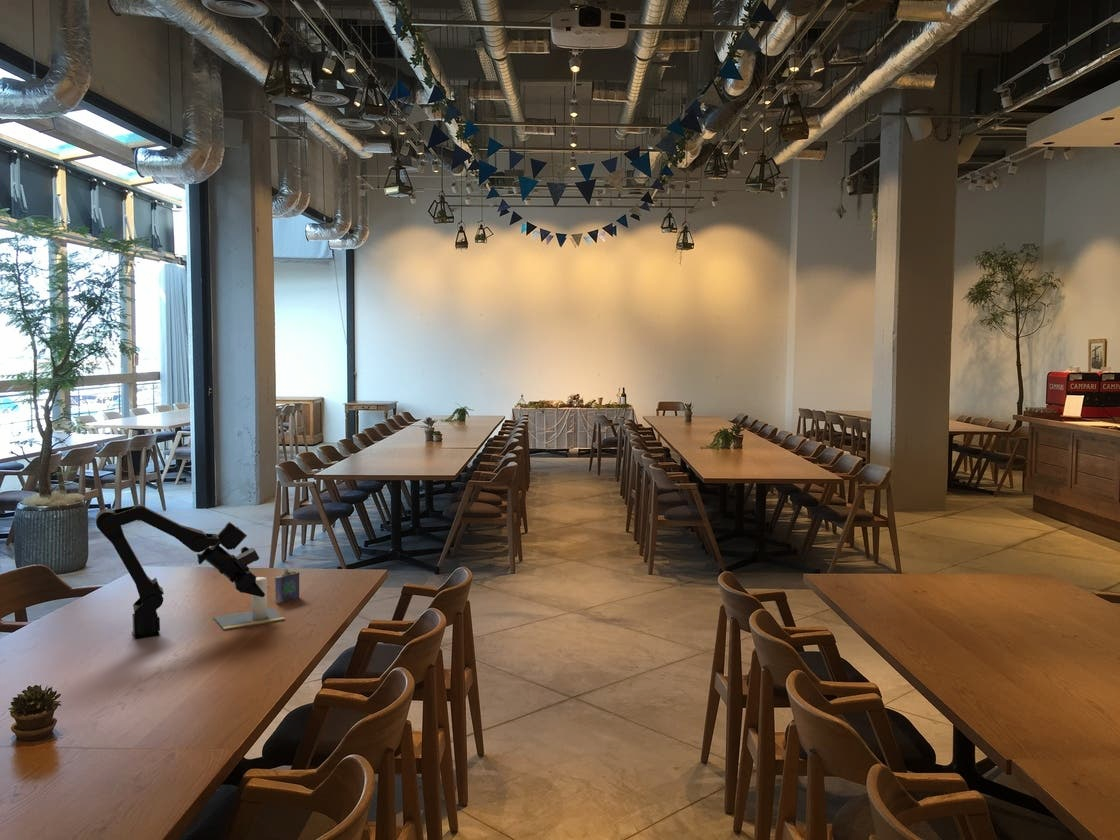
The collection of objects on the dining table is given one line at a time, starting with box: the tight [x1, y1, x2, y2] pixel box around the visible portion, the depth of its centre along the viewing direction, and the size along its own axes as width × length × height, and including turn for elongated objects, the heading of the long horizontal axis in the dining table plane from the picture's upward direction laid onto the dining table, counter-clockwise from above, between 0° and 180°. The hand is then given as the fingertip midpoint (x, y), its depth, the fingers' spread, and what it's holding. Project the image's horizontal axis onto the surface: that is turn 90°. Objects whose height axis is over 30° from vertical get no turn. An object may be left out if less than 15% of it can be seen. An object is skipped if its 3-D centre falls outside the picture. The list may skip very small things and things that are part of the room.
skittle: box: [250, 576, 268, 619], centre depth 270 cm, size 5×5×12 cm
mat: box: [213, 607, 286, 631], centre depth 269 cm, size 18×14×1 cm
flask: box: [274, 568, 300, 605], centre depth 289 cm, size 9×3×11 cm, turn 146°
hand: (261, 592), depth 270 cm, fingers open, 9 cm apart
